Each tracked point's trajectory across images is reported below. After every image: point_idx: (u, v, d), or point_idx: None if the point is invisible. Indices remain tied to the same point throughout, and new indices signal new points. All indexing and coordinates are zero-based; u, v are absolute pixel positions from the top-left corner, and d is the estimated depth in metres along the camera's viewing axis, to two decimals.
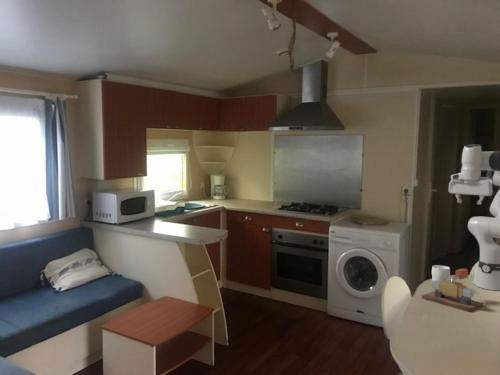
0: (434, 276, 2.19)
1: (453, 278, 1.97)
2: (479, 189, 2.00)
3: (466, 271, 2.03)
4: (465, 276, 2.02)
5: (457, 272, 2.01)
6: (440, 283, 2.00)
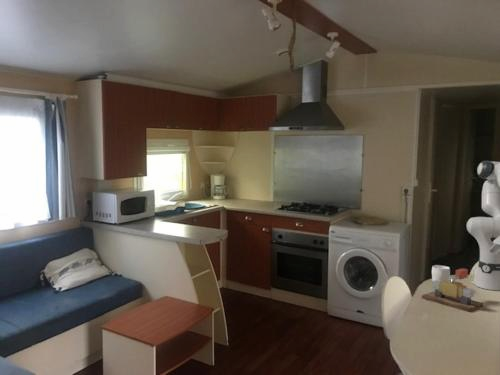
0: (434, 276, 2.19)
1: (453, 278, 1.97)
2: None
3: (466, 271, 2.03)
4: (465, 276, 2.02)
5: (457, 272, 2.01)
6: (440, 283, 2.00)
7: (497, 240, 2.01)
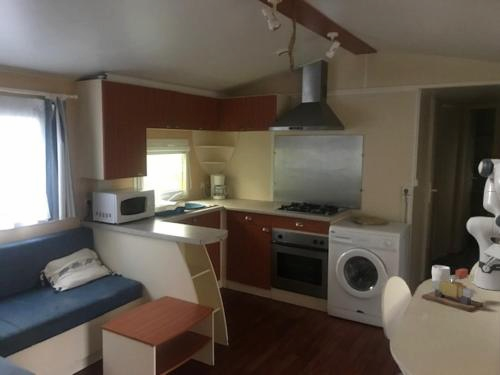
0: (434, 276, 2.19)
1: (453, 278, 1.97)
2: None
3: (466, 271, 2.03)
4: (465, 276, 2.02)
5: (457, 272, 2.01)
6: (440, 283, 2.00)
7: (489, 251, 2.02)
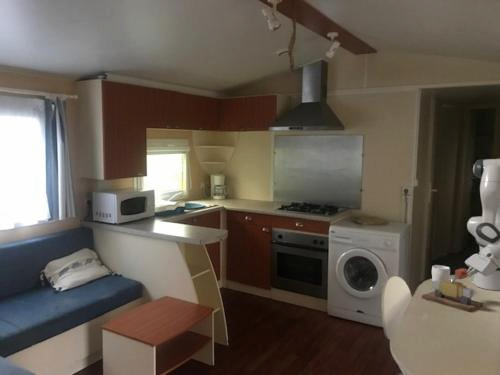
0: (434, 276, 2.19)
1: (453, 278, 1.97)
2: None
3: (466, 271, 2.03)
4: (465, 276, 2.03)
5: (457, 272, 2.01)
6: (440, 283, 2.00)
7: (469, 261, 2.06)
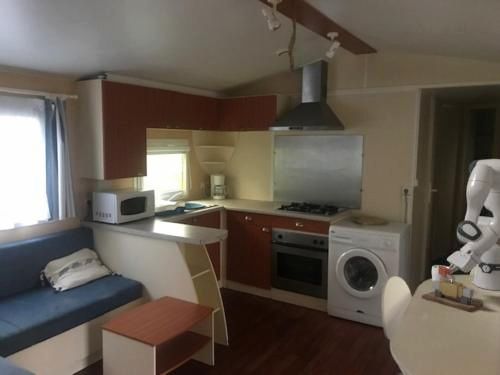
0: (434, 276, 2.19)
1: (454, 278, 1.97)
2: None
3: None
4: None
5: (446, 271, 2.03)
6: (440, 283, 2.00)
7: (451, 258, 2.11)
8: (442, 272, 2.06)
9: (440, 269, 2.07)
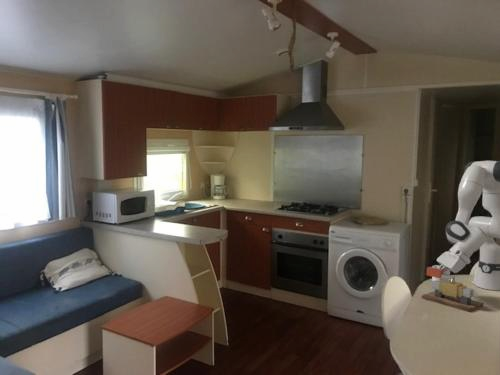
0: None
1: (454, 278, 1.97)
2: None
3: None
4: None
5: (441, 271, 2.01)
6: (440, 283, 2.00)
7: (440, 259, 2.10)
8: (434, 273, 2.03)
9: (430, 270, 2.04)
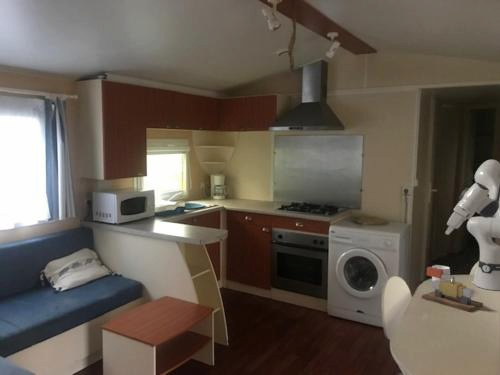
0: None
1: (454, 278, 1.97)
2: (460, 224, 2.11)
3: None
4: None
5: (441, 271, 2.01)
6: (440, 283, 2.00)
7: None
8: (434, 273, 2.03)
9: (431, 270, 2.04)
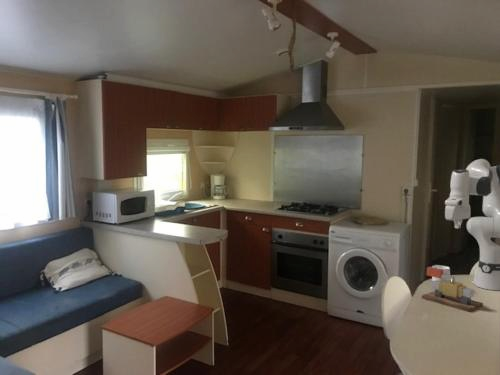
0: None
1: (454, 278, 1.97)
2: (466, 213, 2.09)
3: None
4: None
5: (441, 271, 2.01)
6: (440, 283, 2.00)
7: None
8: (434, 273, 2.03)
9: (431, 270, 2.04)
